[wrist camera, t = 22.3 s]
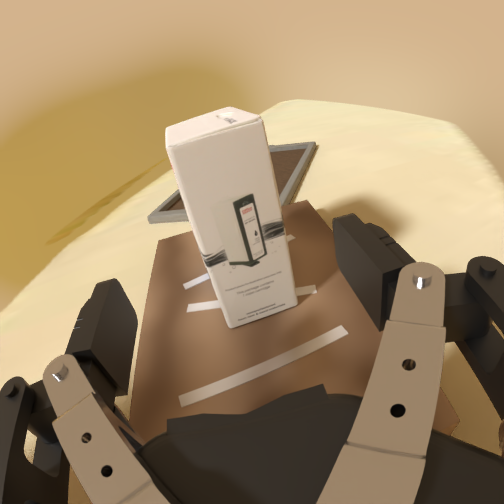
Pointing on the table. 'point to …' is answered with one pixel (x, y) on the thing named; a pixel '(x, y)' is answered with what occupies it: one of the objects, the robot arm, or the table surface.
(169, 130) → the ink box
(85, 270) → the table surface
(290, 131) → the table surface
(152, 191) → the table surface
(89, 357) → the robot arm
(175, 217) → the grey framed brown panel
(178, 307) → the walnut board
